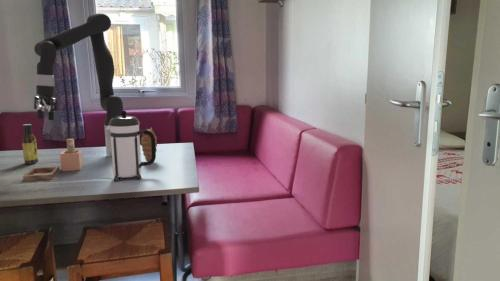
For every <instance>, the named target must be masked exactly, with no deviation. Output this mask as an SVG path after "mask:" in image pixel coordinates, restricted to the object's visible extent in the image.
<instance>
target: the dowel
mask: <svg viewBox="0 0 500 281" xmlns="http://www.w3.org/2000/svg"><path fill="white" fill-rule="evenodd" d="M75 148H76V147H75V139H74V138H67V139H66V149H67V152H68V153H75V150H76V149H75Z"/></svg>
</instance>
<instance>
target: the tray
mask: <svg viewBox="0 0 500 281" xmlns="http://www.w3.org/2000/svg"><path fill="white" fill-rule="evenodd" d="M60 167H61V166H58V165H57V166H43V167H40V166H39V167H32V169H30V170H29V171H28V172H26V173H25V174H24V175H23V176H22V180H23V182H28V181H31V182H30V183H31V184H32V183H35V181H44V180H46V181H45V183H49V182H51V180H53V179H54V178H55V177H56V175H57V174H58V173H60V171H61V169H60ZM49 180H50V181H49ZM33 181H34V182H33Z"/></svg>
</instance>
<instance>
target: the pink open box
mask: <svg viewBox="0 0 500 281" xmlns="http://www.w3.org/2000/svg"><path fill="white" fill-rule="evenodd" d="M59 157H60V167H61V169H60V170H61V172H69V171H81V169H82V168H83V167H84V159H83V158H84V156H83V149H75V153H68V152H67V150H63V151H61V153H59Z"/></svg>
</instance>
